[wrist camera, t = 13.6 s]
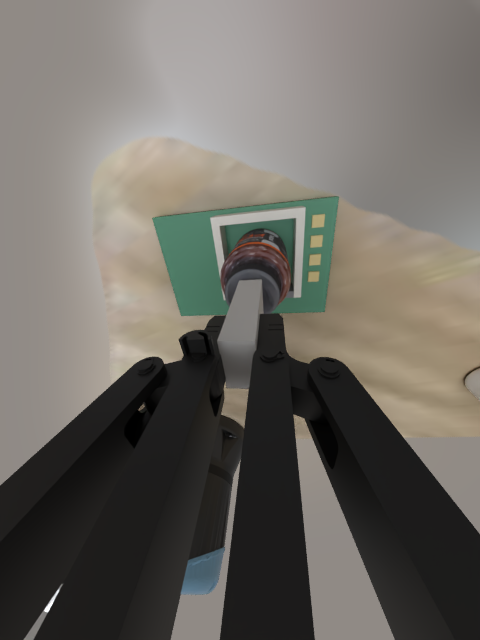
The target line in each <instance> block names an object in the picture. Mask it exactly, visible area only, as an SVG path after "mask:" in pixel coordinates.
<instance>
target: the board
mask: <svg viewBox="0 0 480 640" xmlns="http://www.w3.org/2000/svg"><path fill="white" fill-rule="evenodd" d="M338 200H339V197H338V196H334V197H326V198H317V199H308V200H300V201H291V202H282V203H274V204H265V205H256V206H248V207H239V208H230V209H222V210H213V211H204V212H196V213H187V214H178V215H170V216H161V217H155V218H152V219H153V222H154V226H155V229H156V232H157V236H158V239H159V242H160V246H161V249H162V253H163V256H164V259H165V263H166V266H167V270H168V273H169V276H170V280H171V283H172V286H173V290H174V293H175V297H176V300H177V303H178V307H179V310H180V313H181V316H196V315H227V313H228V310H229V306H228V304H227V302H226V299H225V295H224V292H223V290H222V287H221V282H220V274H221V269H222V266H223V264H224V261H225V260H226V258H227V257H228V255H229V254H230V252H231V251H232V250H233V248H234V247H235V245H236V244H237V242H238V241H239V239H240V238H241V237H242V236H243V235H244V234H246V233H247V232H249V231H252V230H255V229H268V230H271V231H273V232H274V233H276V234H277V235H278V236H279V237H280V238H281V239H282V241H283V243H284V245H285V247H286V251H287V256H288V261H289V266H290V272H291V284H290V288H289V291H288V293H287V295H286V297H285V299H284V300H283V301H282V302H281V303H280V304H279V305H278V306H277V307H276V309H275V310H274V311H273V312H272V313H305V312H325V305H326V296H327V288H328V280H329V272H330V264H331V256H332V248H333V240H334V232H335V224H336V216H337V208H338Z"/></svg>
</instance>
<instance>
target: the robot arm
mask: <svg viewBox="0 0 480 640" xmlns="http://www.w3.org/2000/svg"><path fill="white" fill-rule="evenodd" d="M179 342H180V345H181V348H182V351H183V354H184V357H183V358H182V360H180V361H177V362H172V363H168V364H164V362H163V360H162V359H161V358H159V357H149V358H145V359H143V360H140V361H139V362H137V363H136V364H134V365H133V366H132V367H131V368H130V369H129V370H128V371H127V372H126V373H124V374H123V375H122V376H121V377H120V378H119V379H118V380H117V381H116V382H114V383H113V384H112V385H111V386H110V387H109V388H108V389H107V390H106V391H104V392H103V393H102V394H101V395H100V396H99V397H98V398H97V399H96V400H95V401H93V402H92V403H91V404H90V405H89V406H88V407H87V408H86V409H85V410H83V412H81V413H80V414H79V415H78V416H77V417H76V418H75V419H74V420H72V421H71V422H70V423H69V424H68V425H67V426H66V427H65V428H64V429H62V430H61V431H60V432H59V433H58V434H57V435H56V436H55V437H54V438H53V439H51V440H50V441H49V442H48V443H47V444H46V445H45V446H44V447H43V448H41V449H40V450H39V451H38V452H37V453H36V454H35V455H34V456H33V457H31V458H30V459H29V460H28V461H27V462H26V463H25V464H24V465H23V466H22V467H20V468H19V469H18V470H17V471H16V472H15V473H14V474H13V475H12V476H11V477H9V478H8V479H7V480H6V481H5V482H4V483H3V484H2V485H0V640H170V639H171V635H172V630H173V626H174V621H175V617H176V612H177V608H178V604H179V599H180V595H181V594H195V595H201V594H202V595H203V594H209V593H210V592H212V591H213V590H214V588H215V587H216V585H217V583H218V580H219V575H220V570H221V564H222V558H223V553H224V551H225V547H224V545H225V537H226V530H227V522H228V514H229V506H230V498H231V491H232V483H233V476H234V473H235V471H236V469H237V466H238V464H239V461H240V459H241V462H240V472H239V479H238V488H237V497H236V505H235V514H234V523H233V532H232V540H231V548H230V557H229V566H228V574H227V582H226V591H225V600H224V608H223V617H222V626H221V634H220V640H315V638H314V628H313V617H312V606H311V596H310V585H309V575H308V565H307V554H306V543H305V533H304V523H303V512H302V502H301V491H300V481H299V470H298V459H297V449H296V439H295V428H294V418H293V414H294V415H297V416H300V417H303V418H305V421H306V424H307V426H308V428H309V431H310V433H311V436H312V438H313V441H314V443H315V446H316V448H317V450H318V453H319V455H320V458H321V460H322V463H323V465H324V467H325V470H326V472H327V475H328V477H329V480H330V482H331V484H332V487H333V489H334V492H335V494H336V497H337V499H338V502H339V504H340V507H341V509H342V511H343V514H344V516H345V519H346V521H347V524H348V526H349V529H350V531H351V533H352V536H353V538H354V540H355V543H356V546H357V548H358V550H359V553H360V555H361V558H362V560H363V562H364V565H365V568H366V570H367V572H368V575H369V577H370V580H371V582H372V585H373V587H374V589H375V592H376V594H377V597H378V599H379V601H380V604H381V607H382V609H383V611H384V614H385V616H386V619H387V621H388V624H389V626H390V629H391V631H392V633H393V636H394V638H395V640H480V534H479V533H478V531H477V530H476V529H475V528H474V526H473V525H472V524H471V522H470V521H469V520H468V519H467V517H466V516H465V515H464V514H463V512H462V511H461V510H460V509H459V507H458V506H457V505H456V504H455V502H454V501H453V500H452V499H451V497H450V496H449V495H448V493H447V492H446V491H445V490H444V488H443V487H442V486H441V485H440V483H439V482H438V481H437V480H436V478H435V477H434V476H433V474H432V473H431V472H430V471H429V469H428V468H427V467H426V466H425V464H424V463H423V462H422V461H421V459H420V458H419V457H418V456H417V454H416V453H415V452H414V450H413V449H412V448H411V447H410V445H409V444H408V443H407V442H406V440H405V439H404V438H403V437H402V435H401V434H400V433H399V432H398V430H397V429H396V428H395V426H394V425H393V424H392V423H391V421H390V420H389V419H388V418H387V416H386V415H385V414H384V413H383V411H382V410H381V409H380V408H379V406H378V405H377V404H376V402H375V401H374V400H373V399H372V397H371V396H370V395H369V394H368V392H367V391H366V390H365V389H364V387H363V386H362V385H361V384H360V382H359V381H358V380H357V378H356V377H355V376H354V375H353V373H352V372H351V371H350V370H349V368H348V367H347V366H346V365H345V364H343V363H342V362H340V361H338V360H336V359H333V358H329V357H320V358H316V359H314V360H313V361H311V362H310V364H308V363H304V362H300V361H297V360H295V359H293V358H292V357H291V356H289V354H288V353H287V351H286V346H285V335H284V324H283V318H282V317H281V316H280V314H279V313H274V314H264V311H263V292H262V279H257V280H239V282H238V285H237V288H236V291H235V293H234V296H233V299H232V302H231V304H230V307H229V310H228V313H227V315H225V316H214V317H213V318H212V319H210V320H209V322H208V324H207V326H206V328H205V330H194V331H191V332H188V333H186V334H184V335H183V336H182V337H181V338H180V339H179ZM225 382H226V387H227V388H239V389H249V394H248V402H247V411H246V419H245V428H244V430H243V428H242V427H241V426H240V425H239V424H237V423H236V422H234V421H233V420H231V419H229V418H226V417H224V416H221V412H222V407H223V403H224V390H223V388H224V384H225ZM142 404H144V405H145V407H144V408H143V409H142V410H141V411H138V409H139V408H140V406H141V405H142Z"/></svg>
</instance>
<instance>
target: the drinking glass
mask: <svg viewBox="0 0 480 640" xmlns="http://www.w3.org/2000/svg"><path fill="white" fill-rule="evenodd" d="M465 386H466V387H467V389H468V390H469V391H470V392H471V393H472V394H473V395H474V396H475V397H476V398H477V399H478V400H479V401H480V368H479V369H476V370H474V371H473V372H471V373H470V374H469V375H468V376H467V377H466V379H465Z"/></svg>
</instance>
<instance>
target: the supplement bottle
mask: <svg viewBox="0 0 480 640" xmlns="http://www.w3.org/2000/svg"><path fill="white" fill-rule="evenodd" d="M257 279H262V292H263V311H264V314H271V313H272V312H273V311H274V310H275V309H276V307H277V306H278V305H279V304H280V303H281V302H282V301H283V300H284V299H285V297H286V295H287V293H288V291H289V288H290V284H291V272H290V266H289V261H288V256H287V251H286V247H285V245H284V243H283V241H282V239H281V238H280V237H279V236H278V235H277V234H276V233H274V232H273V231H271V230H268V229H255V230H252V231H249V232H247V233H246V234H244V235H243V236H242V237H241V238H240V239H239V241H238V242H237V244H236V245H235V247H234V248H233V250H232V251H231V252H230V254H229V255H228V257H227V258H226V260H225V261H224V264H223V266H222V269H221V274H220V282H221V287H222V290H223V292H224V295H225V299H226V302H227V304H228V306H229V307H230V304H231V302H232V299H233V296H234V293H235V291H236V288H237V285H238V282H239V280H257Z"/></svg>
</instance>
